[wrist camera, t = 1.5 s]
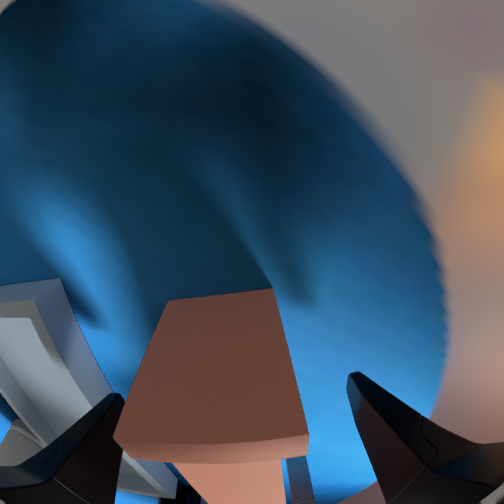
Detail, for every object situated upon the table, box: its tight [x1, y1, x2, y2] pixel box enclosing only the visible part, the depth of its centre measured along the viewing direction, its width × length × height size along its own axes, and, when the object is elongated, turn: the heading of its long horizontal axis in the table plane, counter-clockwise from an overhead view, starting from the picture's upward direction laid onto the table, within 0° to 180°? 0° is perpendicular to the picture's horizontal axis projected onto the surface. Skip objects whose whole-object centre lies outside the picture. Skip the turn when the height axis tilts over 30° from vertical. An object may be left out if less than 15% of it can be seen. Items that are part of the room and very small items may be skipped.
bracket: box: [201, 455, 316, 504], centre depth 11 cm, size 3×6×8 cm, turn 97°
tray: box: [0, 278, 178, 499], centre depth 12 cm, size 19×10×2 cm, turn 7°
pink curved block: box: [113, 288, 309, 504], centre depth 10 cm, size 14×4×7 cm, turn 7°
